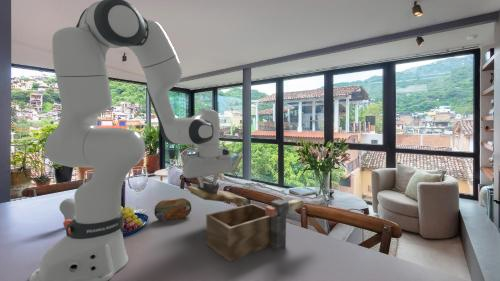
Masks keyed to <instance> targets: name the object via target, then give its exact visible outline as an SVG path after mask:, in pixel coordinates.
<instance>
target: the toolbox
mask: <svg viewBox="0 0 500 281" xmlns="http://www.w3.org/2000/svg"><path fill="white" fill-rule="evenodd" d="M270 204H271V205H270V206H272V205H274V206H277V207H278V215H275V216H273V217H271V216H268V215H266V214H265V207H262V206H260V205H257V204H254V203H249V204H246V205H242V206H237V207H233V208H230V209H225V210H221V211H216V212H212V213H209V214H206V216H205V218H206V220H205V222H206V223H205V225H206V227H205V231H206V232H205V233H206V236H205V237H206V238H205V240H206V242H205V244H206V245H207V246H209V248H211V249H213V250H214V251H215V252H216V253H217V254H218V255H220V256H222V258H224V259H226V261H228V262H229V263H230V262H233V261H235V260H238V259H240V258H243V257H245V256H248V255H250V254H253V253H255V252H258V251H261V250H263V249H265V248H267V247H271V248H272V249H274V250H276V251H278V250H281V249H283V248H285V247H286V242H287V238H286V237H287V235H286V234H287V215H289V214H290V211H289V202H287V201H286V200H283V199H276V200H272V201H270Z"/></svg>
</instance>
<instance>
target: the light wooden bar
mask: <svg viewBox="0 0 500 281" xmlns="http://www.w3.org/2000/svg"><path fill="white" fill-rule="evenodd" d="M287 202H289V212H291V211H293V210H297V209H301V208H303V207H304V200H303V199H300V198H295V199H291V200H288V201H287ZM264 208H265V214H266V215H268V216H271V217H273V216H275V215H278V207H277V206H274V205H267V206H265V207H264Z"/></svg>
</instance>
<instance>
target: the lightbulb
mask: <svg viewBox="0 0 500 281" xmlns="http://www.w3.org/2000/svg"><path fill="white" fill-rule="evenodd" d="M59 204H60V205H59V207H58V208H59V211H60V212H61V214H62V215H63V217H64V221H65V220H66V219H71V220H74V219H75V201H74V198H72V197H71V198H65V199H64V200H62V201H61V203H59Z"/></svg>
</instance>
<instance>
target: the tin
mask: <svg viewBox="0 0 500 281" xmlns="http://www.w3.org/2000/svg"><path fill="white" fill-rule="evenodd" d="M191 212H192V204H191V202H190V201H189V200H188V199H187V198H184V197H180V198H179V197H178V198H173V199H163V200H160V201H159V202H157V203H156V205H155V207H154V212H153V215H154V216H155V218H156V219H157V220H159V221H161V222H167V221H174V220H181V219H185V218H187V217H188V216H189V215H190V214H191Z"/></svg>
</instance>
